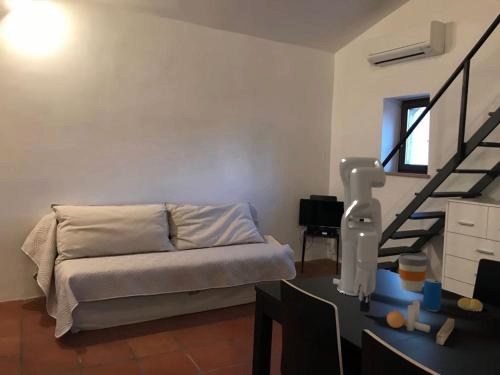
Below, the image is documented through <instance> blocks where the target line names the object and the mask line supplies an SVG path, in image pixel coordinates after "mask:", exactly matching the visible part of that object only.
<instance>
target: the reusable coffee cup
mask: <svg viewBox="0 0 500 375" xmlns="http://www.w3.org/2000/svg"><path fill="white" fill-rule="evenodd" d="M398 264H399V266H398V277H399V278H400V288H401V289H402V290H403V291H406V292H412V293H413V292H422V290H423V287H424V282H425V280H426V275H427V266H428V257H427V256H425V255H423V254H422V255H421V254H417V253H410V252H409V253H408V252H407V253H400V254H399V255H398Z"/></svg>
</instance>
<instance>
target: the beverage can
mask: <svg viewBox="0 0 500 375" xmlns="http://www.w3.org/2000/svg"><path fill="white" fill-rule="evenodd" d="M442 287H443V283H442V282H441V279H438V278H434V277H427V278H426V277H425V280H424V281H423V297H422V300H423V301H422V307H423V308H424V309H425V311H429V312H435V313H437V312H439V311H440V310H441V304H442V302H441V301H442Z"/></svg>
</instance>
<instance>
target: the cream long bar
mask: <svg viewBox="0 0 500 375" xmlns="http://www.w3.org/2000/svg"><path fill="white" fill-rule="evenodd" d="M454 328H455V319H453V318H449V317H448V318H447V319H446V321H445V323H443V325H442V326H441V328H440V329H439V331H437V334H436V339H435V340H436V342H435V345H436V344H437V345H440V346H443V345H444V344H445V342H446V340H447V339H448V338H449V335H450V334H451V333H452V332H453V329H454Z"/></svg>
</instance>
